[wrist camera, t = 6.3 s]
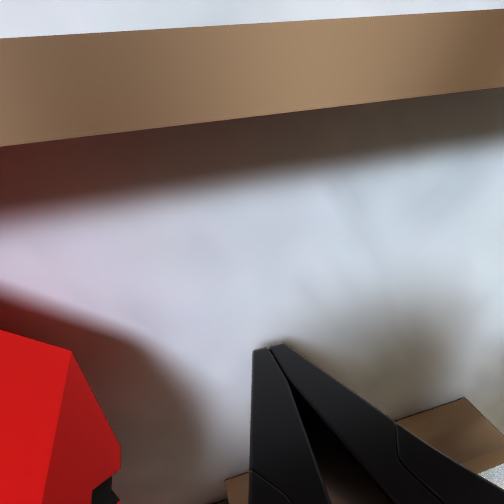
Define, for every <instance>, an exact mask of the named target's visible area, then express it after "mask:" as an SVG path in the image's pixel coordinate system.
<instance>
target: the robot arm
mask: <svg viewBox="0 0 504 504" xmlns="http://www.w3.org/2000/svg"><path fill="white" fill-rule="evenodd" d="M248 504H504V490H503V489H502V488H500V487H498V486H497V485H495V484H493V483H491V482H490V481H488V480H486V479H485V478H483V477H481V476H480V475H478V474H476V473H474V472H473V471H471V470H469V469H468V468H466V467H464V466H462V465H461V464H459V463H458V462H456V461H454V460H453V459H451V458H449V457H448V456H446V455H444V454H443V453H441V452H440V451H438V450H436V449H435V448H433V447H432V446H430V445H429V444H427V443H426V442H424V441H423V440H421V439H420V438H418V437H417V436H415V435H414V434H412V433H411V432H410V431H408V430H407V429H405V428H404V427H402V426H401V425H400V424H398V423H396V424H395V422H394V420H392V419H391V418H390V417H388V416H387V415H385V414H384V413H382V412H381V411H380V410H378V409H377V408H375V407H374V406H373V405H371V404H370V403H368V402H367V401H365V400H364V399H363V398H361V397H360V396H358V395H357V394H356V393H354V392H353V391H351V390H350V389H348V388H347V387H346V386H344V385H343V384H341V383H340V382H339V381H337V380H336V379H334V378H333V377H331V376H330V375H329V374H327V373H326V372H324V371H323V370H322V369H320V368H319V367H317V366H316V365H315V364H313V363H312V362H310V361H309V360H307V359H306V358H305V357H303V356H302V355H300V354H299V353H298V352H296V351H295V350H293V349H292V348H290V347H289V346H288V345H286V344H284V343H279V344H275V345H271V346H270V347H269V348H267V347H263V348H260V349H256V350H254V351H253V353H252V386H251V422H250V458H249V487H248Z"/></svg>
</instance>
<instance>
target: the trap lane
mask: <svg viewBox="0 0 504 504" xmlns="http://www.w3.org/2000/svg"><path fill="white" fill-rule="evenodd" d="M498 87H504V9H493V10H476V11H459V12H442V13H425V14H408V15H391V16H375V17H358V18H341V19H324V20H307V21H290V22H273V23H256V24H239V25H222V26H205V27H188V28H171V29H155V30H138V31H121V32H104V33H87V34H70V35H53V36H36V37H19V38H2V39H0V147H1V146H9V145H18V144H26V143H35V142H43V141H51V140H60V139H68V138H77V137H85V136H94V135H102V134H110V133H119V132H127V131H136V130H144V129H153V128H161V127H169V126H178V125H186V124H195V123H203V122H212V121H220V120H228V119H237V118H245V117H254V116H262V115H271V114H279V113H287V112H296V111H304V110H313V109H321V108H330V107H338V106H346V105H355V104H363V103H372V102H380V101H389V100H397V99H405V98H414V97H422V96H431V95H439V94H448V93H456V92H464V91H473V90H481V89H490V88H498ZM396 423H398V424H400V425H401V426H402V427H404V428H405V429H407V430H408V431H410V432H411V433H412V434H414V435H415V436H417V437H418V438H420V439H421V440H423V441H424V442H426V443H427V444H429V445H430V446H432V447H433V448H435V449H436V450H438V451H440V452H441V453H443V454H444V455H446V456H448V457H449V458H451V459H453V460H454V461H456V462H458V463H459V464H461V465H462V466H464V467H466V468H468V469H469V470H471V471H473V472H474V473H476V474H478V473H481V472H483V471H486V470H488V469H490V468H493V467H495V466H498V465H500V464H503V463H504V435H503V434H502V433H501V432H500V431H499V430H498V429H497V428H496V427H495V426H494V425H493V424H492V423H491V422H490V421H488V420H487V419H486V418H485V417H484V416H483V415H482V414H481V413H480V412H479V411H478V410H477V409H476V408H475V407H474V406H473V405H472V404H471V403H470V402H469V401H468V400H467V399H466V398H462V399H460V400H457V401H454V402H451V403H448V404H445V405H442V406H439V407H436V408H434V409H431V410H428V411H425V412H422V413H419V414H416V415H413V416H410V417H408V418H405V419H402V420H399V421H396V422H395V424H396ZM225 486H226V491H227V497H228V500H225V501H222V502H219V503H216V504H248V487H249V473H246V474H243V475H240V476H237V477H234V478H231V479H228V480H225Z"/></svg>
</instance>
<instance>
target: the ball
mask: <svg viewBox="0 0 504 504" xmlns="http://www.w3.org/2000/svg"><path fill="white" fill-rule="evenodd" d="M119 469H121V447H120V445H119V443H118V441H117V439H116V437H115V435H114V433H113V431H112V429H111V427H110V425H109V423H108V421H107V419H106V417H105V415H104V413H103V411H102V410H101V408H100V406H99V404H98V402H97V400H96V398H95V396H94V394H93V392H92V390H91V388H90V386H89V384H88V382H87V380H86V378H85V376H84V374H83V372H82V370H81V368H80V367H79V365H78V363H77V361H76V359H75V357H74V355H73V353H72V351H70V350H67V349H63V348H60V347H57V346H53V345H50V344H47V343H43V342H40V341H37V340H33V339H30V338H26V337H23V336H20V335H16V334H13V333H10V332H6V331H3V330H0V504H120V499H119V498H118V497H117V496H116V494H115V493H114V492H113V491H112V489H111V484H112V475H113V474H114V473H115V472H117V471H118V470H119Z"/></svg>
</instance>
